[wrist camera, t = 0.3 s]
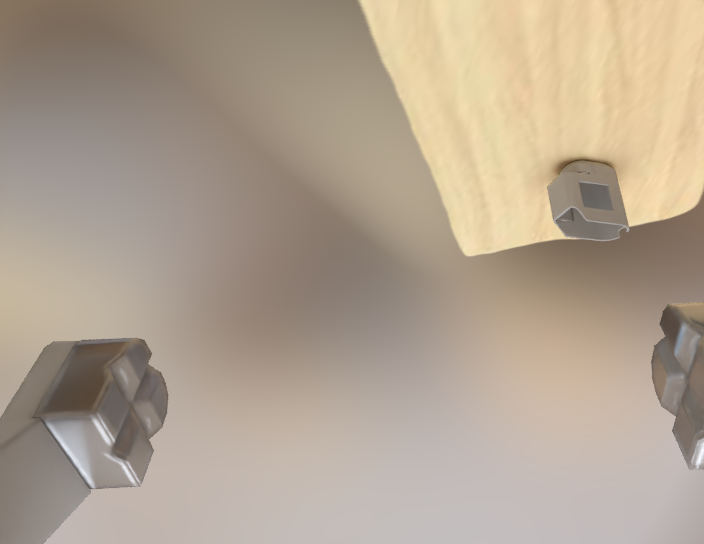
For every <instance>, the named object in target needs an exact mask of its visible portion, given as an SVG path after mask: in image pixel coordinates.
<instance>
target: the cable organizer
mask: <svg viewBox="0 0 704 544" xmlns="http://www.w3.org/2000/svg"><path fill="white" fill-rule="evenodd" d="M581 172H588V173H589V174H584V173H581ZM547 189H548V194H549V200H550V205H551V211H552V217H553V221H554V223H555V224H556V225H557V226H558V227H559V229H560V230H561V231H562V233H563V234H564V235H565V237H571V238H580V239H588V240H597V241H608V240H614V239H617V238H620V234H619V231H620V230H621V229H622V228H624V227H625V228H626V232H628V231H629V225H628V221H627V217H626V212H625V208H624V204H623V200H622V195H621V191H620V188H619V183H618V179H617V175H616V171H615V169H614V168H612V167H610V166H608V165H606V164H602V163H596V162H591V161H585V160H578V161H574V162H571V163H569V164H568V165H566V166H565V168H564V169H563V170H562V171H561V172H560V174H559V176H558V177H557V178H556V179H555V180H554V181H553V182H552V183H551V184H550V185H549V186H548V187H547ZM560 220H564V221H560Z"/></svg>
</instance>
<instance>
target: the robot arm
mask: <svg viewBox="0 0 704 544" xmlns="http://www.w3.org/2000/svg"><path fill="white" fill-rule="evenodd" d="M660 326H661V328H662V330H663V332H664V334H665V337H664V338H663V339H662V340H661V341H659V342H658V343H657V344H656V345H655V346H654V351H653V356H652V361H651V363H652V379H653V383H654V387H655V391H656V394H657V396H658V399H659V401H660V404H661V406H662V407H663V408H665V409H666V410H668V411H669V412H670V413H672V414H673V415H675V416H676V419H675V423H674V426H673V430H672V431H673V434H674V436H675V438H676V441H677V442H678V445H679V447H680V450H681V452H682V454H683V456H684V459H685V461H686V463H687V465H688V468H689V469H691V470H693V469H704V302H696V303H683V304H668V305H667V306H666V308H665V309H664V311H663V313H662V317H661V321H660ZM151 355H152V353H151V351H150V349H149V348H148V346H147V344H146V342H145V340H142V339H139V338H123V339H100V340H99V339H97V340H81V341H59V342H52V343H51V344H49V345H47V346H46V347H45V348H44V349H43V351H42V352H41V354H40V356H39V357H38V359H37V361H36V362H35V364H34V365H33V367H32V368H31V370H30V371H29V373H28V375H27V376H26V378H25V380H24V381H23V383H22V384H21V386H20V388H19V389H18V391H17V392H16V394H15V395H14V397H13V398H12V400H11V402H10V403H9V405H8V406H7V408H6V410H5V411H4V413H3V415H2V416H1V418H0V544H43V543H44V542H45V541H46V540H47V539H48V538H49V537H50V536H51V535H52V534H53V533H54V532H55V531H56V529H57V528H58V527H59V526H60V525H61V524H62V523H63V522H64V521H65V520H66V519H67V518H68V517H69V516H70V514H71V513H72V512H73V511H74V510H75V509H76V508H77V507H78V506H79V505H80V503H82V502H83V500H84V499H85V498H86V497H87V496H88V495H89V494H90V493H91V490H90V489H102V488H118V487H136V486H141V484H142V481H143V479H144V476H145V473H146V471H147V468H148V465H149V462H150V460H151V457H152V454H153V451H154V450H153V448H152V445H151V443H150V441H149V439H150V438H151V437H152V436H153V435H154V434H156V433H157V432H158V431H159V430H160V429H161V428H162V426H163V423H164V420H165V417H166V414H167V406H168V392H167V387H166V383H165V380H164V378H163V376H162V374H161V372H159V371H158V370H156V369H155V368H153V367H152V366H150V365H149V364H148V362H149V360H150V358H151Z"/></svg>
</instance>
